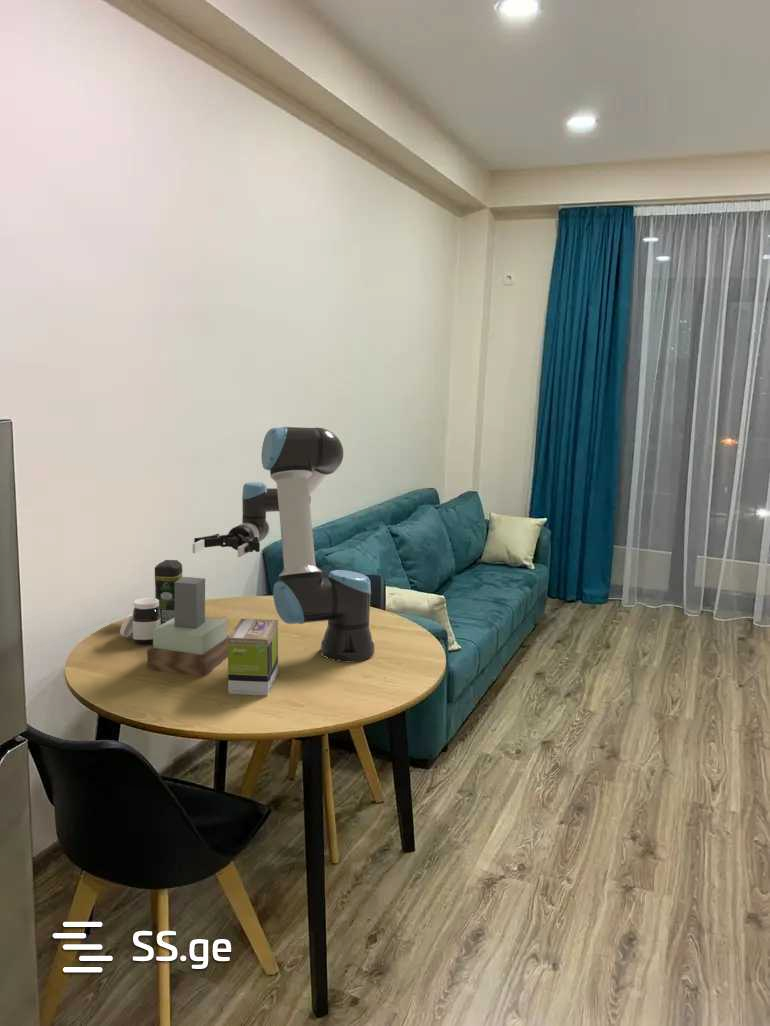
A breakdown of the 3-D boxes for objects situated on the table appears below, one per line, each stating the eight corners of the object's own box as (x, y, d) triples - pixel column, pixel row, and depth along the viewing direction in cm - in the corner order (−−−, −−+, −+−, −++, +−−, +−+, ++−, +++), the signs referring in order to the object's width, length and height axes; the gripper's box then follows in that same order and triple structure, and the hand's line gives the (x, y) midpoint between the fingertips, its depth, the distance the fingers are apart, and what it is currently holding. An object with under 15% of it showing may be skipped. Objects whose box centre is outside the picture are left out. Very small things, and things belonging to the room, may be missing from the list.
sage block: (227, 637, 206) (227, 620, 205) (202, 654, 193) (202, 636, 192) (180, 631, 210) (180, 614, 209) (153, 647, 196) (153, 629, 195)
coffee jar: (160, 614, 241) (159, 557, 238) (185, 615, 241) (185, 558, 238) (152, 624, 231) (151, 565, 228) (178, 624, 232) (177, 565, 229)
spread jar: (160, 645, 214) (159, 605, 212) (117, 647, 211) (117, 607, 209) (161, 631, 225) (161, 593, 223) (121, 633, 222) (121, 594, 220)
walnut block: (229, 656, 209) (229, 635, 208) (205, 678, 193) (205, 656, 192) (175, 650, 212) (175, 630, 210) (147, 671, 196) (147, 649, 195)
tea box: (240, 671, 198) (241, 616, 195) (278, 673, 197) (279, 618, 195) (226, 694, 183) (227, 636, 180) (268, 696, 183) (269, 638, 180)
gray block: (204, 621, 203) (205, 578, 201) (196, 628, 197) (196, 584, 195) (183, 619, 204) (183, 576, 202) (174, 626, 198) (174, 582, 196)
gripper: (281, 551, 234) (257, 566, 214) (205, 545, 239) (175, 559, 218) (281, 527, 233) (258, 540, 213) (205, 522, 237) (175, 534, 217)
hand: (216, 550), depth 215 cm, fingers open, 13 cm apart
